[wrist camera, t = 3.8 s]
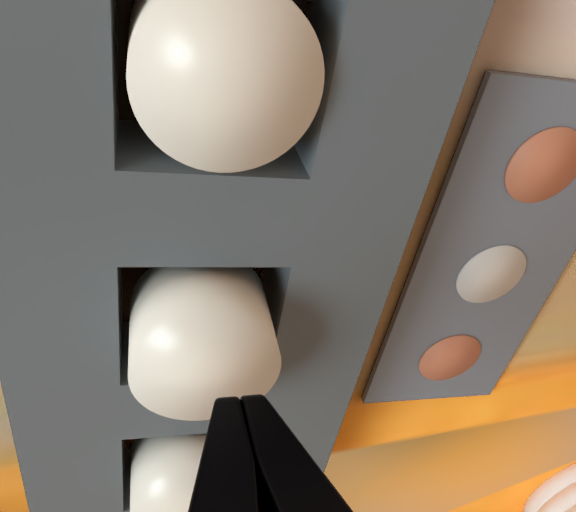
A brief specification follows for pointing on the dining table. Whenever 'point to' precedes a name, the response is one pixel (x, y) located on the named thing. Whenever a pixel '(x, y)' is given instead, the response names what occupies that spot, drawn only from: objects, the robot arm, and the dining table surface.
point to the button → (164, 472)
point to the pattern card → (487, 244)
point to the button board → (202, 225)
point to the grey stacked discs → (555, 493)
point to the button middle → (199, 339)
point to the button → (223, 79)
